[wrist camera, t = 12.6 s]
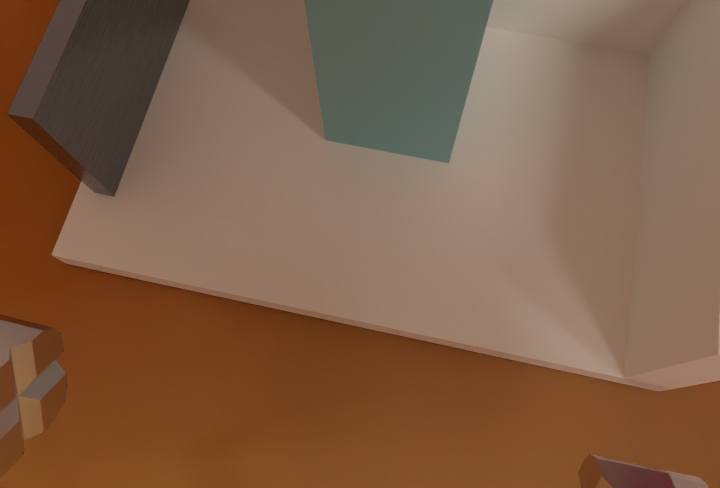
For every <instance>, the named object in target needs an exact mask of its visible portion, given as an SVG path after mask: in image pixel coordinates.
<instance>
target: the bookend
mask: <svg viewBox="0 0 720 488" xmlns="http://www.w3.org/2000/svg"><path fill="white" fill-rule="evenodd" d="M189 1H190V0H60V2H59V4H58V6H57V8H56V10H55V12H54V14H53V17H52V19H51V21H50V23H49V25H48V27H47V29H46V31H45V34H44V36H43V38H42V40H41V42H40V44H39V46H38V48H37V51H36V53H35V55H34V57H33V59H32V61H31V63H30V66H29V68H28V70H27V72H26V74H25V76H24V78H23V80H22V83H21V85H20V87H19V89H18V91H17V93H16V95H15V97H14V100H13V102H12V104H11V106H10V108H9V110H8V112H7V114H8V115H9V116H10V117H11V118H12V119H13V120H14V121H15V122H17V123H18V124H19V125H20V126H21V127H22V128H23V129H24V130H25V131H27V132H28V133H29V134H30V135H31V136H32V137H33V138H34V139H35V140H37V141H38V142H39V143H40V144H41V145H42V146H43V147H44V148H45V149H47V150H48V151H49V152H50V153H51V154H52V155H53V156H54V157H55V158H56V159H58V160H59V161H60V162H61V163H62V164H63V165H64V166H65V167H66V168H68V169H69V170H70V171H71V172H72V173H73V174H74V175H75V176H76V177H78V178H79V179H80V180H81V181H82V182H83V183H84V184H85V185H86V186H88V187H89V188H90V189H91V190H92V191H93V192H94V193H98V194H103V195H108V196H113V197H115V194H116V191H117V189H118V186H119V183H120V181H121V178H122V176H123V173H124V170H125V168H126V165H127V163H128V160H129V157H130V155H131V152H132V150H133V147H134V144H135V142H136V139H137V137H138V134H139V131H140V129H141V126H142V124H143V121H144V118H145V116H146V113H147V111H148V108H149V105H150V103H151V100H152V97H153V95H154V92H155V90H156V87H157V84H158V82H159V79H160V77H161V74H162V71H163V69H164V66H165V64H166V61H167V58H168V56H169V53H170V51H171V48H172V45H173V43H174V40H175V38H176V35H177V32H178V30H179V27H180V25H181V22H182V19H183V17H184V14H185V11H186V9H187V6H188V4H189Z"/></svg>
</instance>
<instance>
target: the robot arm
mask: <svg viewBox="0 0 720 488" xmlns="http://www.w3.org/2000/svg"><path fill="white" fill-rule="evenodd" d="M63 351H64V348H63V342H62V336H61V333H60V332H58V331H57V330H55V329H54V328H50V327H47V326H43V325H39V324H35V323H31V322H27V321H23V320H20V319H16V318H12V317H8V316H4V315H0V479H1V478H2V477H3V476H4V475H5V474H6V472H7V471H8V470H9V469H10V468H11V467H12V466H13V465H14V464H15V463H16V462H17V461H18V460H19V458H20V457H21V456H22V455H23V454H24V443H25V440H27V439H29V438H31V437H34V436H36V435H38V434H40V433H43V432H44V431H45V430H46V429H47V428H48V427H49V426H50V425H51V423H52V422H53V421H54V420H55V419H56V417H57V415H58V413H59V411H60V409H61V407H62V405H63V403H64V401H65V397H66V391H67V376H66V372H65V371H64V370H63V368H62V367H61V366H60V364H59V363H58V362H57V360H56V359H57V358H58V357H59V356H60V355H61V354H62V352H63ZM578 474H579V479H580V484H581V488H709V487H708V485H707V483H705V482H704V481H703V480H702V479H701V478H700V477H696V476H691V475H687V474H682V473H677V472H673V471H668V470H659V469H656V468H652V467H647V466H643V465H638V464H634V463H630V462H625V461H621V460H616V459H612V458H607V457H603V456H599V455H594V454H589V455H588V456H587V457H586V458H585V459H584V461H583V463H582V465H581V468H580V470H579V472H578Z"/></svg>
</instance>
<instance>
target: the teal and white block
mask: <svg viewBox="0 0 720 488" xmlns="http://www.w3.org/2000/svg"><path fill="white" fill-rule="evenodd" d="M304 3H305V9H306V16H307V22H308V29H309V35H310V42H311V48H312V55H313V61H314V68H315V74H316V81H317V87H318V94H319V100H320V107H321V113H322V120H323V126H324V133H325V139H326V140H327V141H332V142H337V143H343V144H348V145H353V146H359V147H364V148H369V149H375V150H380V151H385V152H391V153H396V154H401V155H407V156H412V157H417V158H423V159H428V160H433V161H439V162H444V163H449V161H450V157H451V153H452V150H453V146H454V142H455V139H456V135H457V132H458V128H459V124H460V121H461V117H462V113H463V110H464V106H465V102H466V99H467V95H468V91H469V88H470V84H471V80H472V77H473V73H474V69H475V66H476V62H477V58H478V55H479V51H480V47H481V44H482V40H483V36H484V33H485V29H486V25H487V22H488V18H489V14H490V11H491V7H492V3H493V0H304Z"/></svg>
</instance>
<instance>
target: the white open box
mask: <svg viewBox="0 0 720 488" xmlns="http://www.w3.org/2000/svg"><path fill="white" fill-rule="evenodd" d="M51 255H52V256H54V257H55V258H57V259H59V260H60V261H62V262H64V263H65V264H70V265H74V266H79V267H84V268H88V269H93V270H98V271H102V272H107V273H111V274H116V275H121V276H125V277H130V278H135V279H139V280H144V281H148V282H153V283H158V284H162V285H167V286H172V287H176V288H181V289H186V290H190V291H195V292H199V293H204V294H209V295H213V296H218V297H223V298H227V299H232V300H237V301H241V302H246V303H250V304H255V305H260V306H264V307H269V308H274V309H278V310H283V311H287V312H292V313H297V314H301V315H306V316H311V317H315V318H320V319H325V320H329V321H334V322H338V323H343V324H348V325H352V326H357V327H362V328H366V329H371V330H375V331H380V332H385V333H389V334H394V335H399V336H403V337H408V338H413V339H417V340H422V341H426V342H431V343H436V344H440V345H445V346H450V347H454V348H459V349H464V350H468V351H473V352H477V353H482V354H487V355H491V356H496V357H501V358H505V359H510V360H514V361H519V362H524V363H528V364H533V365H538V366H542V367H547V368H552V369H556V370H561V371H565V372H570V373H575V374H579V375H584V376H589V377H593V378H598V379H603V380H607V381H612V382H616V383H621V384H626V385H630V386H635V387H640V388H644V389H649V390H653V391H658V392H659V391H665V390H671V389H676V388H682V387H687V386H693V385H698V384H704V383H709V382H715V381H720V0H493V3H492V7H491V11H490V14H489V18H488V22H487V25H486V29H485V33H484V36H483V40H482V44H481V47H480V51H479V55H478V58H477V62H476V66H475V69H474V73H473V77H472V80H471V84H470V88H469V91H468V95H467V99H466V102H465V106H464V110H463V113H462V117H461V121H460V124H459V128H458V132H457V135H456V139H455V142H454V146H453V150H452V153H451V157H450V161H449V163H444V162H439V161H433V160H428V159H423V158H417V157H412V156H407V155H401V154H396V153H391V152H385V151H380V150H375V149H369V148H364V147H359V146H353V145H348V144H343V143H337V142H332V141H327V140H326V139H325V133H324V126H323V120H322V113H321V107H320V100H319V94H318V87H317V81H316V74H315V68H314V61H313V55H312V48H311V42H310V35H309V29H308V22H307V16H306V9H305V3H304V0H190V1H189V4H188V6H187V9H186V11H185V14H184V17H183V19H182V22H181V25H180V27H179V30H178V32H177V35H176V38H175V40H174V43H173V45H172V48H171V51H170V53H169V56H168V58H167V61H166V64H165V66H164V69H163V71H162V74H161V77H160V79H159V82H158V84H157V87H156V90H155V92H154V95H153V97H152V100H151V103H150V105H149V108H148V111H147V113H146V116H145V118H144V121H143V124H142V126H141V129H140V131H139V134H138V137H137V139H136V142H135V144H134V147H133V150H132V152H131V155H130V157H129V160H128V163H127V165H126V168H125V170H124V173H123V176H122V178H121V181H120V183H119V186H118V189H117V191H116V194H115V197H113V196H108V195H103V194H98V193H94V192H93V191H92V190H91V189H90V188H89V187H88V186H86V185H85V184H84V183H83V182H82V181H81V183H80V186H79V188H78V190H77V193H76V195H75V198H74V200H73V203H72V205H71V208H70V210H69V213H68V215H67V217H66V220H65V222H64V225H63V227H62V230H61V232H60V235H59V237H58V240H57V242H56V245H55V247H54V249H53V252H52V254H51Z"/></svg>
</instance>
